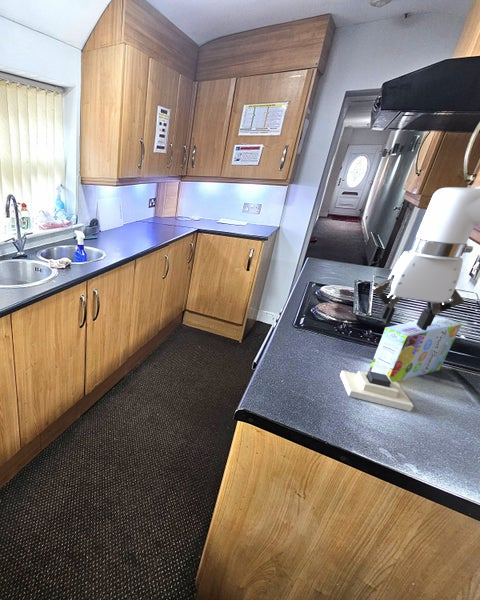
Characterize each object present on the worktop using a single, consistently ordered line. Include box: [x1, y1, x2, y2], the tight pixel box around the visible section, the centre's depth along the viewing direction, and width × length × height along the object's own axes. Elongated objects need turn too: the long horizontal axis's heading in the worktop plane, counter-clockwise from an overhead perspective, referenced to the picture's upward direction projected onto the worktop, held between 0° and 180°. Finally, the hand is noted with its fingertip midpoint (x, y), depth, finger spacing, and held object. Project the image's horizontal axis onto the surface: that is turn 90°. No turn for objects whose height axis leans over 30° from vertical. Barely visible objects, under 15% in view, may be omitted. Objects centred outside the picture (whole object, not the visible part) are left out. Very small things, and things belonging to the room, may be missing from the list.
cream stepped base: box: [339, 369, 414, 412], centre depth 83 cm, size 12×10×4 cm
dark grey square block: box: [366, 370, 391, 387], centre depth 82 cm, size 4×4×2 cm
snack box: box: [368, 315, 463, 383], centre depth 88 cm, size 21×6×15 cm, turn 107°
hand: (402, 323), depth 76 cm, fingers open, 5 cm apart
